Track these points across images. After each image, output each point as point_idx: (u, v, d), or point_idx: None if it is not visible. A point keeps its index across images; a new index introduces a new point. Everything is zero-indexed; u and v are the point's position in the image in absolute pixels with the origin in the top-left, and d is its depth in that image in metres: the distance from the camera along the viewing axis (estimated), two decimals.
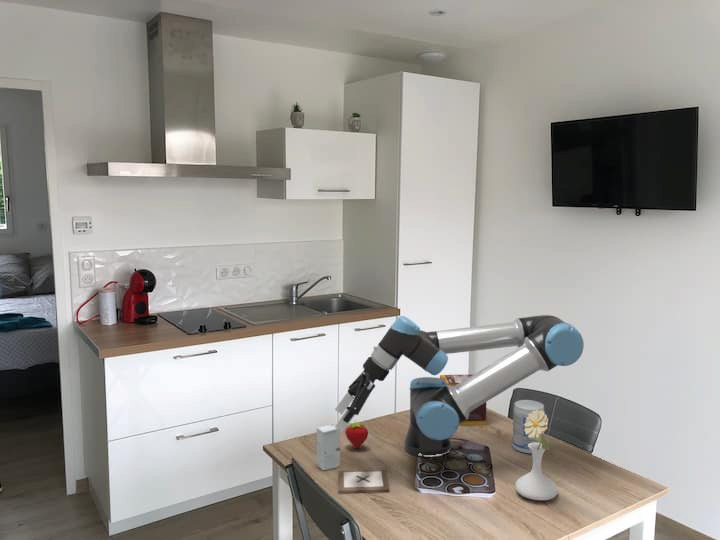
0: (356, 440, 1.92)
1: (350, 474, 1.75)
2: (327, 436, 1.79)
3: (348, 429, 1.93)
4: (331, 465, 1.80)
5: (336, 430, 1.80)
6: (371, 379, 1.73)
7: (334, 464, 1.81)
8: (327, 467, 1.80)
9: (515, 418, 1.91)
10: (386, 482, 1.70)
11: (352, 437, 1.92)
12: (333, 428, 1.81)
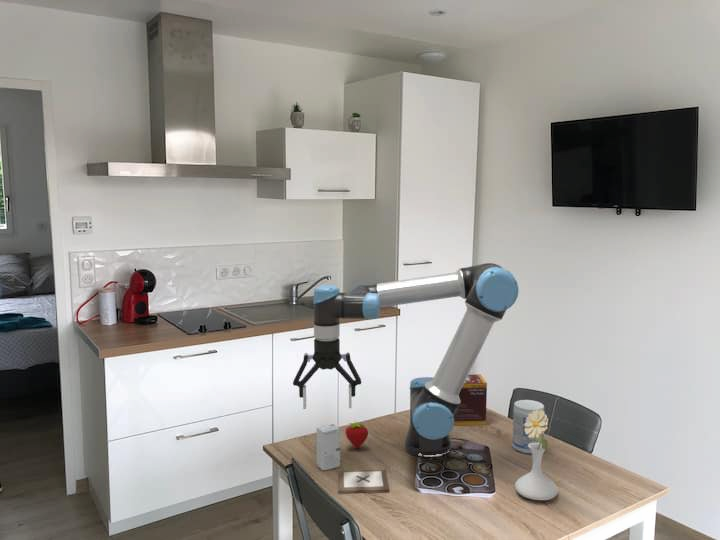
0: (356, 440, 1.92)
1: (350, 474, 1.75)
2: (327, 436, 1.79)
3: (348, 429, 1.93)
4: (331, 465, 1.80)
5: (336, 430, 1.80)
6: (314, 353, 1.78)
7: (334, 464, 1.81)
8: (327, 467, 1.80)
9: (515, 418, 1.91)
10: (386, 482, 1.70)
11: (352, 437, 1.92)
12: (333, 428, 1.81)
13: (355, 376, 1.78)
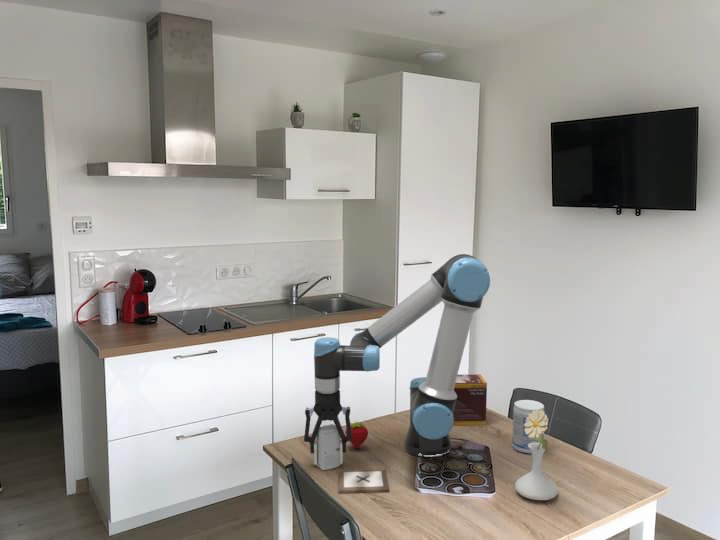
0: (356, 440, 1.92)
1: (350, 474, 1.75)
2: (327, 436, 1.79)
3: None
4: (331, 465, 1.80)
5: (336, 430, 1.80)
6: (314, 405, 1.80)
7: (334, 464, 1.81)
8: (327, 467, 1.80)
9: (515, 418, 1.91)
10: (386, 482, 1.70)
11: (352, 437, 1.92)
12: (333, 428, 1.81)
13: (348, 432, 1.80)
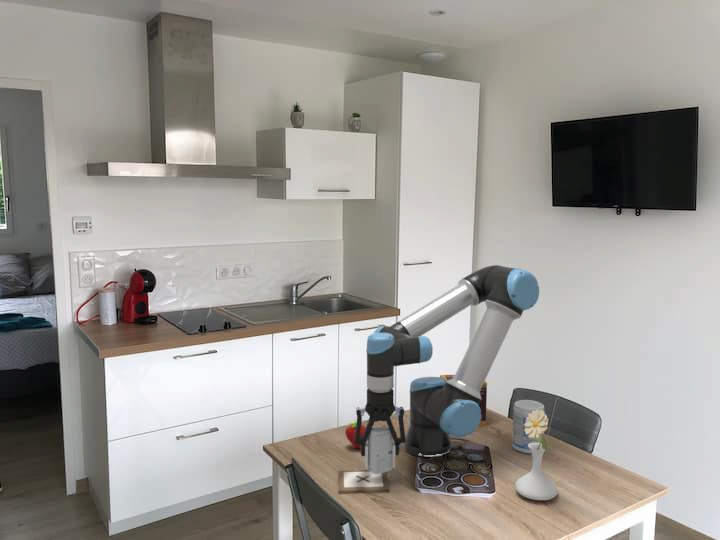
0: None
1: (350, 474, 1.75)
2: (380, 437, 1.68)
3: (348, 429, 1.93)
4: (383, 468, 1.69)
5: (389, 431, 1.70)
6: None
7: (386, 468, 1.70)
8: (379, 471, 1.69)
9: (515, 418, 1.91)
10: (386, 482, 1.70)
11: (352, 437, 1.92)
12: (386, 429, 1.70)
13: (402, 433, 1.69)
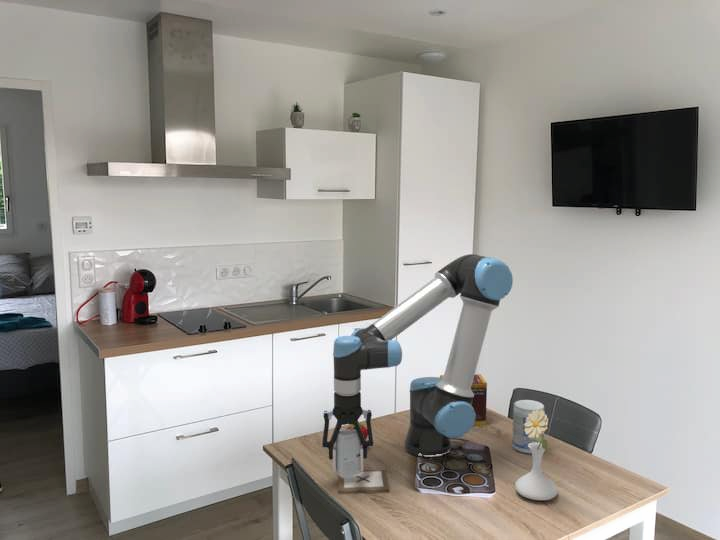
0: None
1: None
2: (347, 441, 1.68)
3: None
4: (351, 472, 1.69)
5: (356, 435, 1.69)
6: (333, 408, 1.69)
7: (354, 471, 1.70)
8: (347, 474, 1.69)
9: (515, 418, 1.91)
10: (386, 482, 1.70)
11: None
12: (353, 433, 1.69)
13: (369, 436, 1.69)
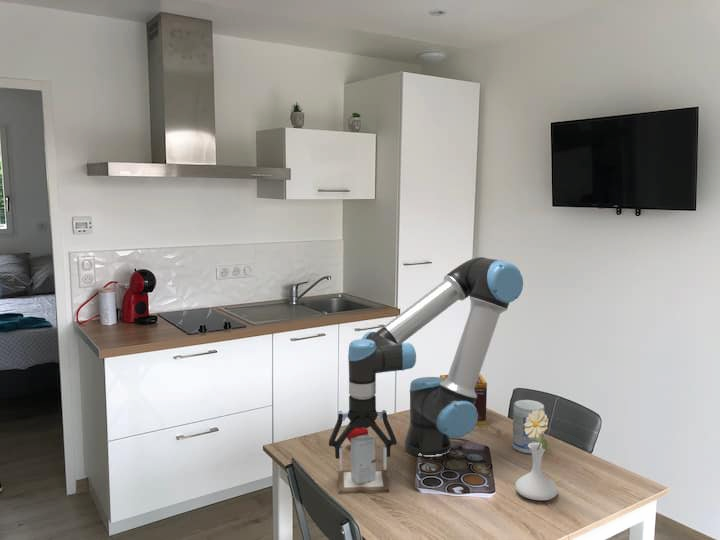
0: None
1: (350, 474, 1.75)
2: (363, 447, 1.68)
3: None
4: (366, 478, 1.70)
5: (372, 441, 1.70)
6: (349, 411, 1.69)
7: (369, 477, 1.70)
8: (362, 480, 1.69)
9: (515, 418, 1.91)
10: (386, 482, 1.70)
11: (352, 437, 1.92)
12: (369, 439, 1.70)
13: (391, 436, 1.69)
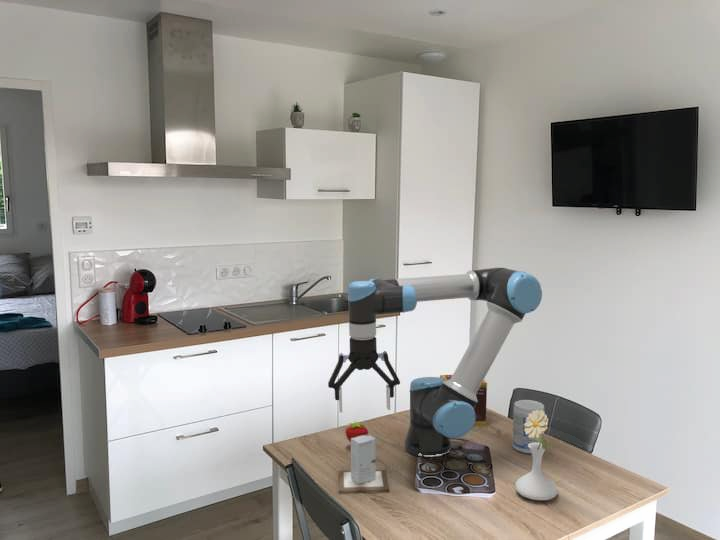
0: None
1: (350, 474, 1.75)
2: (363, 447, 1.68)
3: (348, 429, 1.93)
4: (366, 478, 1.70)
5: (372, 441, 1.70)
6: (350, 353, 1.68)
7: (369, 477, 1.70)
8: (362, 480, 1.69)
9: (515, 418, 1.91)
10: (386, 482, 1.70)
11: (352, 437, 1.92)
12: (369, 439, 1.70)
13: (393, 376, 1.69)
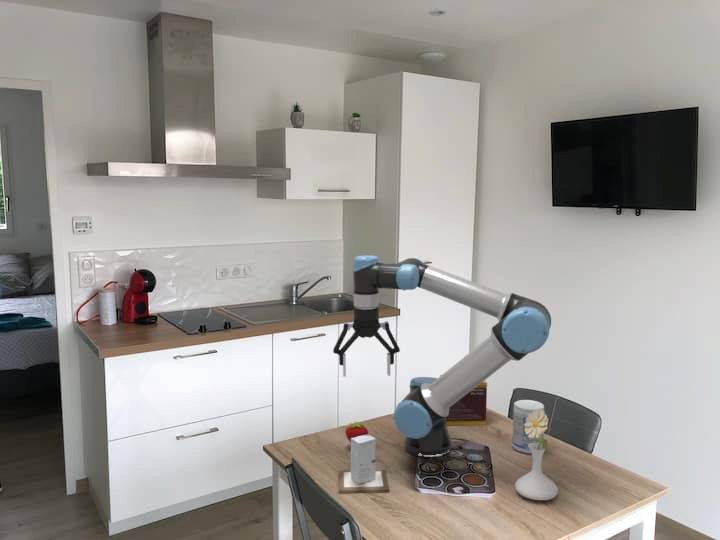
0: None
1: (350, 474, 1.75)
2: (363, 447, 1.68)
3: (348, 429, 1.93)
4: (366, 478, 1.70)
5: (372, 441, 1.70)
6: (354, 321, 1.82)
7: (369, 477, 1.70)
8: (362, 480, 1.69)
9: (515, 418, 1.91)
10: (386, 482, 1.70)
11: (352, 437, 1.92)
12: (369, 439, 1.70)
13: (394, 344, 1.82)
